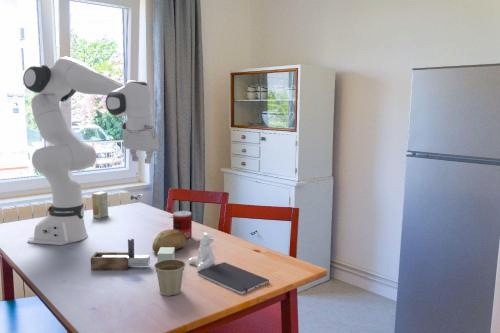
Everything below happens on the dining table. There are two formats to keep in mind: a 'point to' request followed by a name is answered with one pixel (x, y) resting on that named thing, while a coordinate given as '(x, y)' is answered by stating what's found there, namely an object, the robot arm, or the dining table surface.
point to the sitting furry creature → (204, 253)
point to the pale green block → (166, 253)
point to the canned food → (183, 222)
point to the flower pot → (170, 276)
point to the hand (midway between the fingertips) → (141, 162)
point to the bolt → (133, 256)
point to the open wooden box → (109, 261)
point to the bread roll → (169, 239)
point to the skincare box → (100, 204)
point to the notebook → (232, 277)
